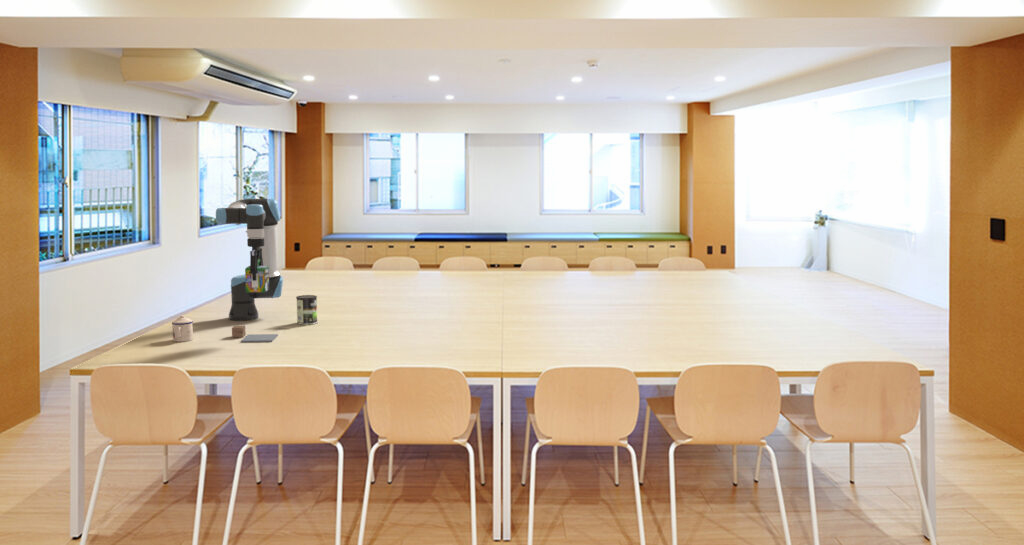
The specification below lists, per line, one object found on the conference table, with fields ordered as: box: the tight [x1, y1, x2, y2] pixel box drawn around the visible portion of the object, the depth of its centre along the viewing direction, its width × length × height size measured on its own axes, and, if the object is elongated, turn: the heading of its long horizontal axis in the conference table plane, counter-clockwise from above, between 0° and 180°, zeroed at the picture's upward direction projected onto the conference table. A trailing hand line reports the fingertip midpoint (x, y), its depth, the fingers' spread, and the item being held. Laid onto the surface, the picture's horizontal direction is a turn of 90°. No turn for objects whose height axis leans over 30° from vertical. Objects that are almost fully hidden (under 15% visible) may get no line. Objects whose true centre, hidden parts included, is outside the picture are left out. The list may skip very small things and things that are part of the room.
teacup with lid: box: [171, 314, 194, 343], centre depth 365 cm, size 12×9×12 cm
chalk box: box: [244, 259, 269, 293], centre depth 367 cm, size 9×9×15 cm
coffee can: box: [295, 294, 318, 326], centre depth 409 cm, size 10×10×14 cm
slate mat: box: [240, 333, 279, 343], centre depth 371 cm, size 14×14×1 cm
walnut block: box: [231, 325, 247, 338], centre depth 375 cm, size 5×5×5 cm
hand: (257, 285), depth 367 cm, fingers closed on chalk box, 9 cm apart
